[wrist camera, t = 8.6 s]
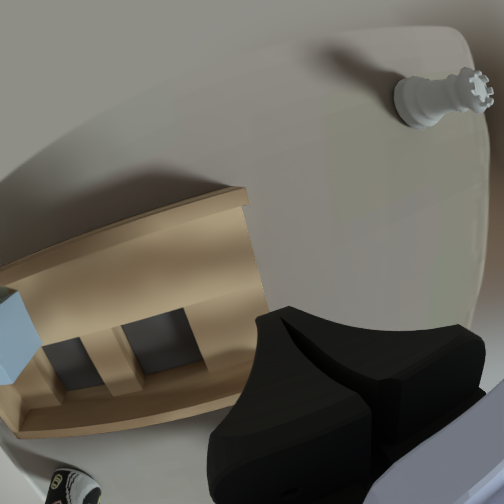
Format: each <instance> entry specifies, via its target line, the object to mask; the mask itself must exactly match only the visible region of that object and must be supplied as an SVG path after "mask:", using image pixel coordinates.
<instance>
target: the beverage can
mask: <svg viewBox="0 0 504 504" xmlns="http://www.w3.org/2000/svg"><path fill="white" fill-rule="evenodd" d="M100 497H101V488H100V486H99V485H98V483H97V482H96V481H94V480H93V479H92V478H91V477H90V476H88V475H87V474H85V473H83V472H81V471H78V470H75V469H65V468H61V469H57V470H55V471H54V473H53V476H52V480H51V483H50V487H49V490H48V494H47V498H46V502H45V504H100Z"/></svg>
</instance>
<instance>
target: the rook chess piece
mask: <svg viewBox="0 0 504 504" xmlns="http://www.w3.org/2000/svg"><path fill="white" fill-rule="evenodd" d="M480 75H482V73H481V71H479V70H475V71H474V70H472V69H470V68H467V67H464V68H462V69H461V71H460V73H459V75H458V76H456V75H453V74H451V75H449V76H448V77H447V79H443V80H433V81H431V80H429V79H424V78H422V77H415V76H412V77H410V78H404V79H402V80H400V81H399V82H398V83H397V85H396V87H395V91H394V103H395V108H396V110H397V112H398V114H399V116H400V117H401V118H402V119H403V120H404V121H405V122H406V123H407V124H408V125H409V126H411V127H413V128H415V129H424V128H426V127H431V126H433V125H434V124H436V123H437V122H438V121H439V119H441V118H442V117H443V115H445V114H448V113H450V112H453V111H459V112H466V111H467V110H468V109H469V108H470V109H471V110H472V111H474V112H475V113H479V114H481V113H482V112H484V111H485V109H486V107H489V105H493V101H494V100H493V99H492V98H489V95H491V94H493V89H492V87H490V88H487V86H486V84H485V83H486V82H488V81H489V79H488V78H487V77H486V75H482V76H480Z"/></svg>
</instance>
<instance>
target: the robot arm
mask: <svg viewBox="0 0 504 504" xmlns="http://www.w3.org/2000/svg"><path fill="white" fill-rule="evenodd" d="M255 323H256V327H257V345H256V351H255V357H254V361H253V365H252V368H251V371H250V374H249V377H248V380H247V382H246V384H245V386H244V389H243V391H242V393H241V395H240V396H239V398H238V400H237V401H236V403H235V404H234V406H233V408H232V409H231V411H230V412H229V414H228V415H227V416H226V417H225V419H224V420H223V421H222V422H221V423H220V424H219V425H218V427H217V428H216V429H215V430H214V431H213V432H212V433H211V434H210V438H209V444H208V452H207V479H208V486H209V492H210V496H211V498H212V500H213V501H214V503H215V504H504V379H503V380H502V381H501V382H500V383H499V384H498V385H497V386H496V387H495V388H493V389H492V390H491V391H490V392H489V393H488V394H486V392H485V391H483V390H482V389H481V388H479V384H480V380H481V375H482V371H483V367H484V362H485V355H486V350H485V344H484V341H483V340H482V338H481V337H479V336H478V335H476V334H474V333H473V332H471V331H469V330H468V329H466V328H464V327H463V326H461V325H459V324H457V325H452V326H446V327H441V328H435V329H428V330H416V331H380V330H370V329H363V328H357V327H352V326H347V325H343V324H339V323H335V322H332V321H329V320H325V319H322V318H320V317H317V316H314V315H311V314H309V313H306V312H304V311H301V310H299V309H296V308H293V307H291V306H287V307H284V308H281V309H279V310H276V311H273V312H270V313H267V314H264V315H261V316H258V317H256V319H255Z"/></svg>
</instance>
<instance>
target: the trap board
mask: <svg viewBox="0 0 504 504" xmlns="http://www.w3.org/2000/svg"><path fill="white" fill-rule="evenodd" d="M247 204H250V202H249V198H248V195H247V191H246V187H235V186H230V187H226V188H223V189H219V190H216V191H212V192H209V193H205V194H202V195H198V196H195V197H192V198H188V199H185V200H182V201H179V202H175V203H172V204H169V205H166V206H163V207H159V208H156V209H153V210H150V211H147V212H144V213H141V214H138V215H135V216H132V217H129V218H126V219H123V220H120V221H117V222H114V223H112V224H109V225H106V226H103V227H100V228H98V229H95V230H92V231H89V232H87V233H84V234H81V235H79V236H76V237H73V238H71V239H68V240H65V241H63V242H60V243H58V244H55V245H53V246H50V247H48V248H45V249H43V250H40V251H38V252H35V253H33V254H31V255H28V256H26V257H23V258H21V259H19V260H16V261H14V262H12V263H9V264H7V265H5V266H3V267H0V297H3V296H6V295H8V294H11V293H14V292H16V291H19V293H20V296H21V298H22V301H23V303H24V305H25V307H26V310H27V312H28V314H29V316H30V318H31V321H32V323H33V325H34V327H35V329H36V331H37V333H38V335H39V337H40V339H41V341H42V343H43V344H42V345H41V346H40V348H39V349H38V350H37V352H36V353H35V354H34V356H33V357H32V358H31V360H30V361H29V362H28V364H27V365H26V366H25V368H24V369H23V370H22V372H21V373H20V375H19V376H18V377H17V379H16V380H15V382H14V383H13V384H7V385H0V416H1V418H2V419H3V420H4V422H5V423H6V424H7V426H8V427H9V428H10V430H11V431H12V432H13V433H14V435H15V436H16V437H17V438H18V439H39V438H57V437H70V436H81V435H90V434H99V433H106V432H113V431H120V430H126V429H132V428H138V427H144V426H149V425H154V424H159V423H164V422H169V421H173V420H178V419H182V418H186V417H191V416H195V415H199V414H203V413H206V412H210V411H214V410H218V409H221V408H225V407H228V406H232V405H234V404H235V403H236V401H237V400H238V398H239V396H240V395H241V393H242V391H243V389H244V386H245V384H246V382H247V380H248V377H249V374H250V371H251V368H252V365H253V361H254V357H255V351H256V345H257V327H256V323H255V319H256V317H258V316H261V315H264V314H267V313H269V309H268V305H267V302H266V298H265V294H264V290H263V286H262V283H261V279H260V275H259V271H258V268H257V264H256V260H255V256H254V252H253V249H252V245H251V241H250V237H249V234H248V230H247V226H246V222H245V218H244V215H243V211H242V207H241V206H243V205H247ZM121 325H122V326H121ZM122 327H123V328H122ZM123 329H124V330H123ZM127 338H128V339H127ZM128 340H129V341H128ZM129 342H130V343H129ZM130 344H131V345H130ZM131 346H132V347H131ZM132 348H133V349H132ZM133 350H134V351H133ZM134 352H135V353H134ZM135 354H136V355H135ZM136 356H137V357H136ZM137 358H138V359H137ZM138 360H139V361H138ZM139 362H140V363H139ZM140 364H141V365H140ZM141 366H142V367H141ZM142 368H143V369H142ZM143 370H144V371H143ZM144 372H145V373H144Z"/></svg>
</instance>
